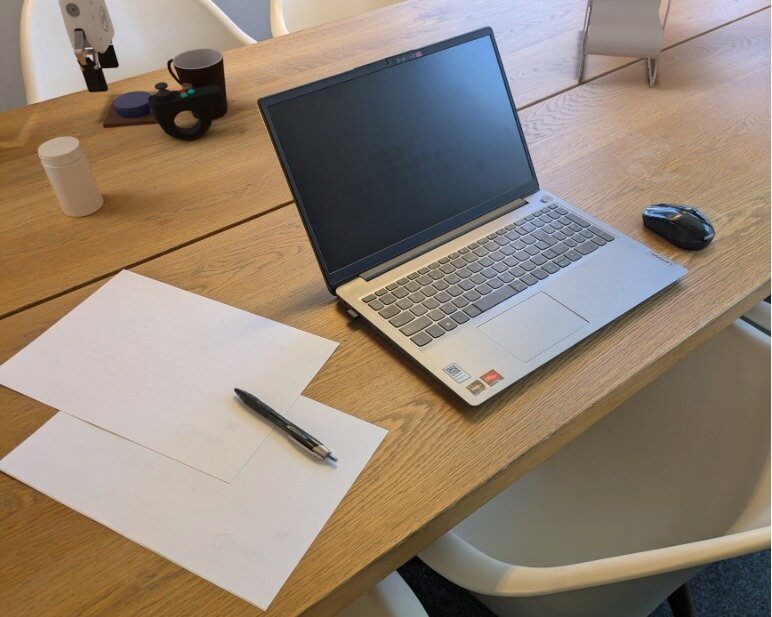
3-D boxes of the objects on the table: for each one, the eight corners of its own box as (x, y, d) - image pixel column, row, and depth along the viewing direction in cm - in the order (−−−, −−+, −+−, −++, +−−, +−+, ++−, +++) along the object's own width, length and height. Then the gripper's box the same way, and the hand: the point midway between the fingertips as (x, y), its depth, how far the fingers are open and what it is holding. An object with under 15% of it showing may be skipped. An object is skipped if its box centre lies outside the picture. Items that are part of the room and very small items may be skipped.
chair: (647, 40, 138) (672, -64, 125) (652, 93, 121) (681, -22, 107) (581, 36, 141) (598, -66, 127) (577, 87, 123) (596, -25, 110)
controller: (158, 137, 115) (142, 82, 108) (228, 123, 118) (216, 68, 111) (161, 149, 112) (145, 93, 105) (233, 134, 115) (221, 78, 108)
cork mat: (103, 127, 118) (102, 124, 118) (114, 102, 125) (113, 99, 125) (160, 123, 119) (159, 119, 118) (167, 98, 126) (166, 95, 125)
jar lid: (157, 99, 124) (155, 89, 123) (152, 116, 119) (149, 106, 118) (120, 102, 124) (117, 92, 123) (113, 119, 119) (109, 109, 118)
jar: (58, 218, 98) (30, 158, 91) (68, 196, 102) (42, 137, 95) (99, 215, 98) (75, 155, 91) (107, 193, 102) (85, 134, 95)
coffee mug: (241, 114, 120) (230, 60, 113) (197, 128, 117) (183, 73, 110) (215, 91, 127) (204, 39, 120) (173, 104, 124) (159, 51, 117)
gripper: (83, -10, 98) (117, 99, 109) (107, -43, 110) (134, 58, 122) (31, -7, 97) (70, 102, 109) (61, -41, 110) (93, 60, 122)
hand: (104, 79), depth 115 cm, fingers open, 9 cm apart
